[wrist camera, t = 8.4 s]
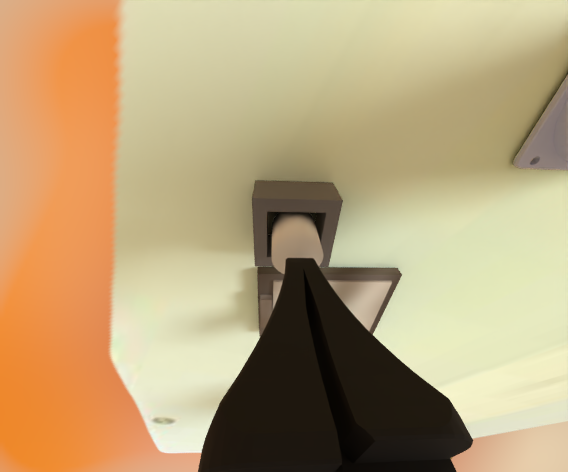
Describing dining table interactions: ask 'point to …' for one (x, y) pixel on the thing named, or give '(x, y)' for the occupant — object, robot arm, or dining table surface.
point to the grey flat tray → (338, 291)
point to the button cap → (294, 238)
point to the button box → (294, 199)
